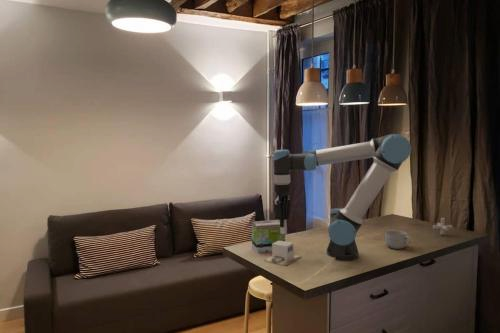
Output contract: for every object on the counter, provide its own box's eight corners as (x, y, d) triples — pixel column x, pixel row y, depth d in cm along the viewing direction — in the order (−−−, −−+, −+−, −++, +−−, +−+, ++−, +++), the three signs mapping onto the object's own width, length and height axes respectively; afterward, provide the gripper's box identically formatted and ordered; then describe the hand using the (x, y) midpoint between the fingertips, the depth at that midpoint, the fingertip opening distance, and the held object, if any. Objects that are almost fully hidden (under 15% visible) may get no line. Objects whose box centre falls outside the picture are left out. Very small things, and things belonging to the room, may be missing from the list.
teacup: (380, 245, 203) (380, 230, 202) (397, 243, 206) (397, 228, 206) (398, 253, 190) (399, 237, 189) (416, 250, 193) (417, 235, 193)
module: (293, 257, 182) (293, 243, 182) (287, 261, 178) (287, 246, 177) (279, 254, 187) (278, 240, 186) (272, 258, 182) (272, 243, 182)
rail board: (301, 259, 185) (301, 253, 184) (286, 268, 173) (286, 262, 173) (280, 254, 192) (280, 249, 191) (264, 262, 180) (264, 257, 180)
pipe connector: (446, 232, 223) (447, 215, 222) (455, 237, 214) (456, 220, 212) (429, 233, 224) (429, 216, 223) (437, 238, 214) (437, 220, 213)
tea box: (257, 255, 191) (256, 226, 190) (251, 249, 201) (251, 221, 200) (285, 252, 195) (285, 223, 194) (279, 246, 205) (278, 218, 204)
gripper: (282, 181, 186) (284, 229, 188) (267, 184, 176) (269, 235, 178) (296, 181, 182) (297, 231, 184) (281, 185, 171) (283, 238, 174)
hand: (283, 233), depth 181 cm, fingers closed
